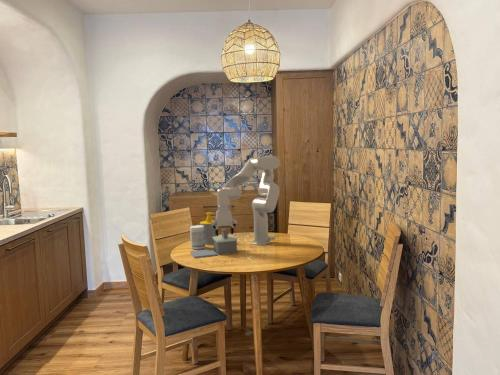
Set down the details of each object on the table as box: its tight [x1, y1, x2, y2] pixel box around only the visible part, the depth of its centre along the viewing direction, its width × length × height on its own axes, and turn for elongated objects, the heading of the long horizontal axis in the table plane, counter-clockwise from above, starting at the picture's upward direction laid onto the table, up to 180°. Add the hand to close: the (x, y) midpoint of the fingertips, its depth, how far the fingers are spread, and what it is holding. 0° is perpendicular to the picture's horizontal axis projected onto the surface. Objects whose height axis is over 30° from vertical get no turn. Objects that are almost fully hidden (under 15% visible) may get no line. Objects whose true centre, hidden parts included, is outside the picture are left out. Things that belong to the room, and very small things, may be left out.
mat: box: [190, 248, 218, 259], centre depth 265 cm, size 14×14×1 cm
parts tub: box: [213, 240, 238, 256], centre depth 269 cm, size 12×12×8 cm
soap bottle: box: [199, 212, 217, 245], centre depth 296 cm, size 13×13×21 cm
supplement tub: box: [189, 224, 206, 250], centre depth 281 cm, size 10×10×15 cm
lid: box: [212, 228, 239, 243], centre depth 268 cm, size 13×13×7 cm
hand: (224, 234), depth 268 cm, fingers open, 9 cm apart
